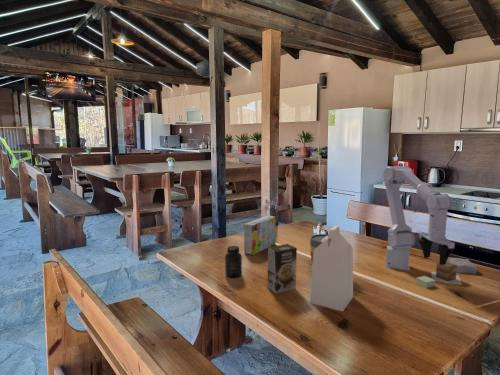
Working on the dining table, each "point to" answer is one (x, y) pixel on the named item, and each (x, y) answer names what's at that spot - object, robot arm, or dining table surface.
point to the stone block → (463, 265)
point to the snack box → (259, 235)
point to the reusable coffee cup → (316, 242)
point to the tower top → (447, 267)
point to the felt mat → (456, 281)
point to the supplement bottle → (233, 262)
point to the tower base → (446, 275)
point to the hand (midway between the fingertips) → (434, 260)
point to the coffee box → (282, 268)
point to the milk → (332, 272)
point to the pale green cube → (425, 281)
